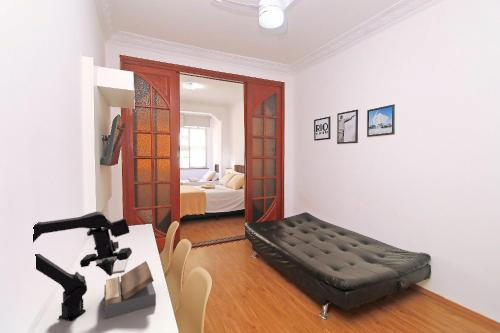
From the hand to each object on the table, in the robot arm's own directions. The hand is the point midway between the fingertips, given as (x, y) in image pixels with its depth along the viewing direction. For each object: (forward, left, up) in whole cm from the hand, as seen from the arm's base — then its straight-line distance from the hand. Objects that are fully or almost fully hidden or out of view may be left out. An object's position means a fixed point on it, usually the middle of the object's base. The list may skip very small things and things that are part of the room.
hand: (111, 275), depth 106 cm
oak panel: (-1, -2, -7) cm, 7 cm away
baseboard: (+34, +28, -13) cm, 46 cm away
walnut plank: (+6, -9, -4) cm, 11 cm away
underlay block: (+4, -6, -12) cm, 14 cm away
